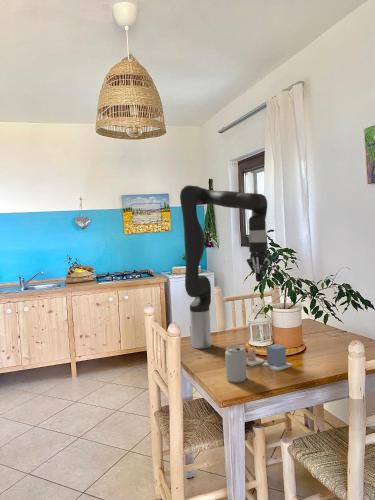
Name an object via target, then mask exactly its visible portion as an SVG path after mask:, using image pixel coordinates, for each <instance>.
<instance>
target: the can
mask: <svg viewBox="0 0 375 500" xmlns="http://www.w3.org/2000/svg"><path fill="white" fill-rule="evenodd" d="M224 354H225V355H224V357H225V374H226V375H225V377H226V379H227V380H228V381H229V382H230V383H233V384H234V383H236V384H237V383H238V384H239V383H240V384H241V383H243V382H245V380H246V379H247V378H248V377H247V375H248V374H247V364H246V357H247V356H246V351H245V349H244V347H243V346H241V345H230V346H228V347H226V350H225V352H224Z"/></svg>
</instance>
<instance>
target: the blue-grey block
mask: <svg viewBox="0 0 375 500" xmlns="http://www.w3.org/2000/svg"><path fill="white" fill-rule="evenodd" d="M286 349H287V347H286V346H284V345H282V344H277V343H274V344H271V345H268V346H266V362H267V363H268V364H271V365H273V366H276V367H278V366H281V365H283V364H286V362H287V351H286Z"/></svg>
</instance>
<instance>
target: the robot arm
mask: <svg viewBox="0 0 375 500" xmlns="http://www.w3.org/2000/svg"><path fill="white" fill-rule="evenodd" d="M179 201H180V207H181V213H182V223H183V239H184V240H183V242H184V252H185V253H184V254H185V255H184V257H185V276H184V278H185V279H184V289H185V293H186V294H187V295H188V296H189V297H190V298H194V299H193V301H192V302H191V303H190V304H189V318H190V325H189V333H190V335H189V336H190V338H189V339H190V346H191V347H192V348H194V349H202V350H203V349H207V348H210V347H211V346H212V334H211V333H212V332H211V315H210V314H211V313H210V307H211V302H212V298H211V297H212V290H211V289H212V287H211V281H210V279H209V278H208V277H207V276H206V275H203V274H202V275H200V274H199V273H200V272H199V267H200V263H201V260H202V258H203V254H204V251H205V235H204V231H203V228H202V225H201V224H200V221H199V219H198V215H197V214H198V213H197V212H198V211H197V206H201V205H202V206H203V205H215V206H220V207H224V208H231V209H242V210H248V211H251V216H250V217H249V219H248V245H249V246H248V250H249V253H250V256H249V258H247V259H246V263H247V264H248V266H249V268H250V269H251V270H250V271H252V272H254V273H255V282H258V283H261V280H262V281H263V279H264V277H263V276H264V274H263V273H264V272H267V270H268V269H269V267H270V266H271V263H272V260H271V259H268V255H267V252H268V236H267V225H266V224H267V223H266V218H267V212H268V200H267V198H266V196H265V195H264V194H262V193H255V192H254V193H253V192H241V191H229V190H227V191H226V190H212V189H211V190H210V189H207V188H203V187H200V186H198V185H184V186H183V187H182V189H181V190H180V193H179Z"/></svg>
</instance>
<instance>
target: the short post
mask: <svg viewBox="0 0 375 500" xmlns="http://www.w3.org/2000/svg"><path fill="white" fill-rule="evenodd" d="M263 363H265V359H263V358H260V357H257V356H256V350H255V349H254V348H249V349H247V356H246V365H249V366H250V367H253V366H256V365H259V364H263Z"/></svg>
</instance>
